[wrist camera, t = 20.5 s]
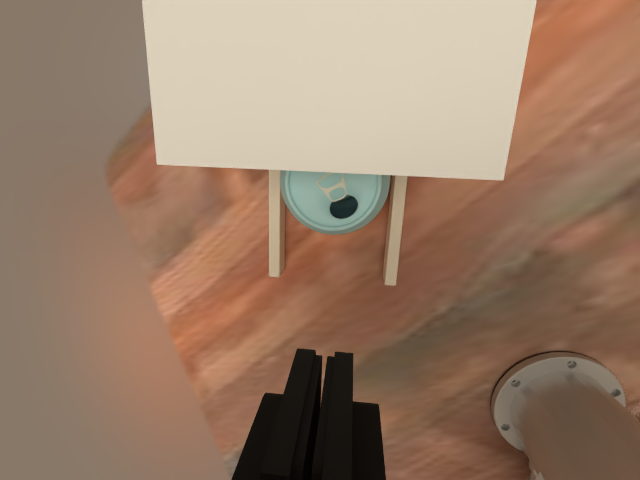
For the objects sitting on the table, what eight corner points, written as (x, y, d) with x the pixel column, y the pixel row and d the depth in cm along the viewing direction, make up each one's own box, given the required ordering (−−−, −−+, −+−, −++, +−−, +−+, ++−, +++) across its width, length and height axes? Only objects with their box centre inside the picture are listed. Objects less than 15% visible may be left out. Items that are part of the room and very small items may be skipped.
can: (392, 155, 30) (417, 157, 18) (354, 221, 32) (356, 261, 20) (324, 118, 30) (305, 97, 18) (290, 187, 32) (254, 208, 20)
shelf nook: (407, 276, 33) (462, 401, 16) (260, 266, 34) (175, 373, 18) (430, 80, 28) (540, -19, 12) (259, 76, 29) (140, -18, 13)
